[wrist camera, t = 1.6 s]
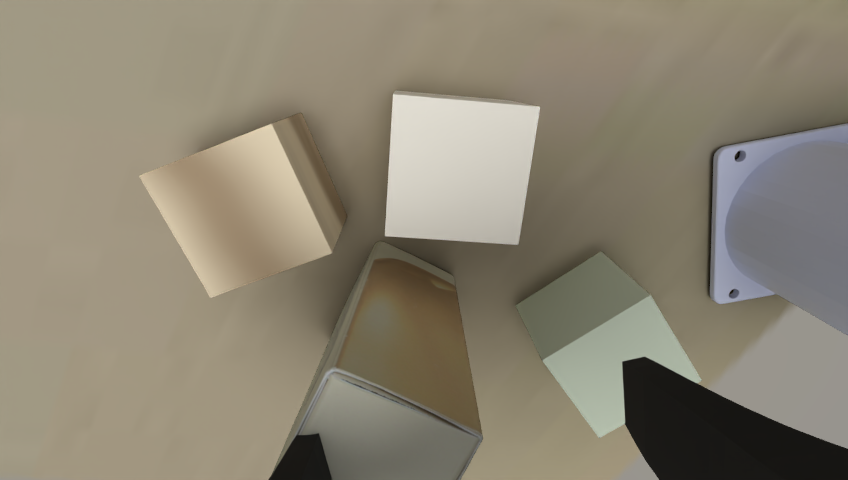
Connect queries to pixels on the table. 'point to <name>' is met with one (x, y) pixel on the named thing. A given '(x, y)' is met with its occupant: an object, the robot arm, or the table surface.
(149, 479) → the table surface
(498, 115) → the cube cream
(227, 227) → the cube beech
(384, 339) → the skincare box
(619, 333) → the cube sage
